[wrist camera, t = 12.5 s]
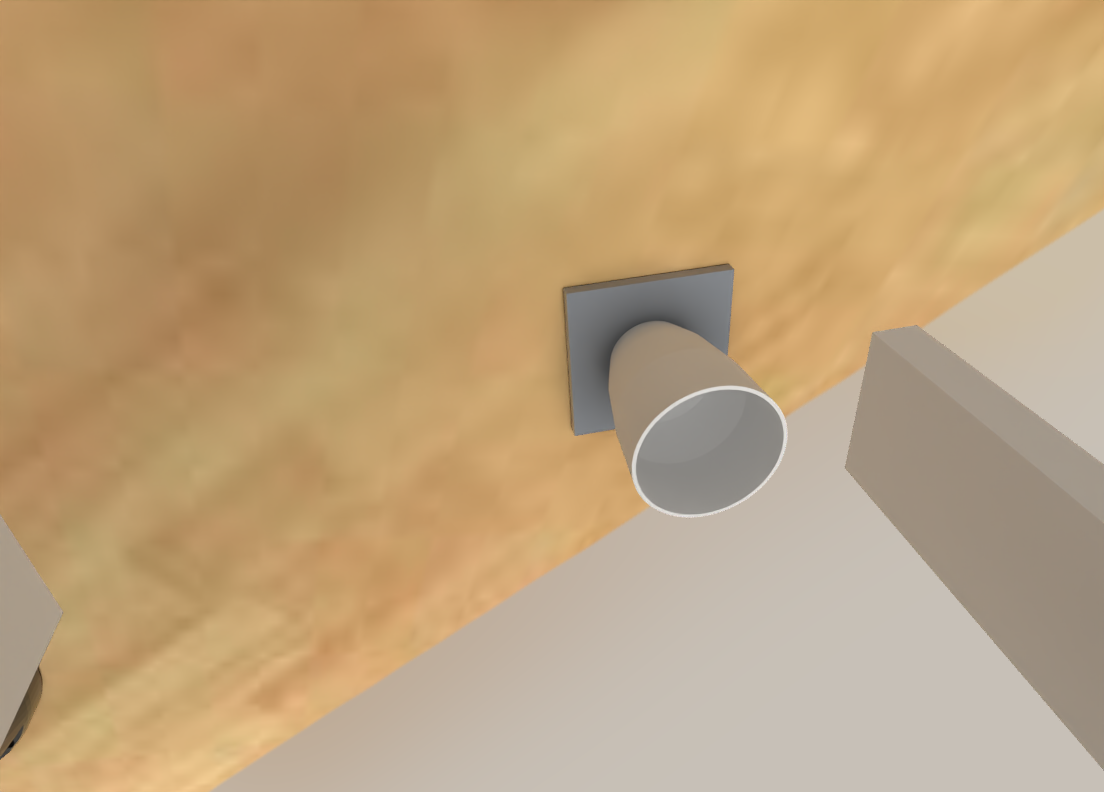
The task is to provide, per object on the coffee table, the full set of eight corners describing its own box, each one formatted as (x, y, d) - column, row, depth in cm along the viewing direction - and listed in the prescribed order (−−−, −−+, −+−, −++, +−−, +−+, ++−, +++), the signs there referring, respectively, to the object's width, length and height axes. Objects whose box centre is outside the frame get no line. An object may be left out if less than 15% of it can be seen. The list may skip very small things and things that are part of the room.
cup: (673, 425, 48) (735, 529, 40) (563, 395, 45) (604, 501, 37) (736, 319, 44) (817, 409, 36) (621, 278, 41) (681, 367, 33)
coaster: (572, 428, 47) (574, 436, 47) (563, 288, 42) (566, 293, 41) (718, 403, 49) (723, 410, 48) (728, 263, 43) (734, 269, 42)
